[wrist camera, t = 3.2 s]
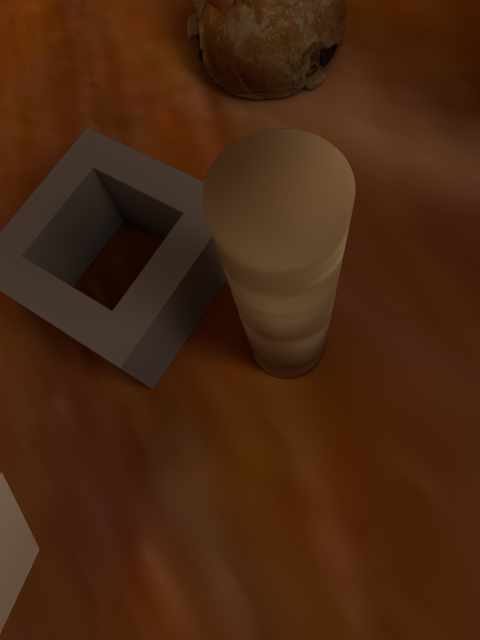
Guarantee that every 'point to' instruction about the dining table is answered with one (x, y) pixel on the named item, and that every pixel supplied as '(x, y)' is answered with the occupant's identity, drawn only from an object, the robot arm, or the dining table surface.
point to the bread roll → (267, 43)
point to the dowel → (281, 240)
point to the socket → (91, 237)
